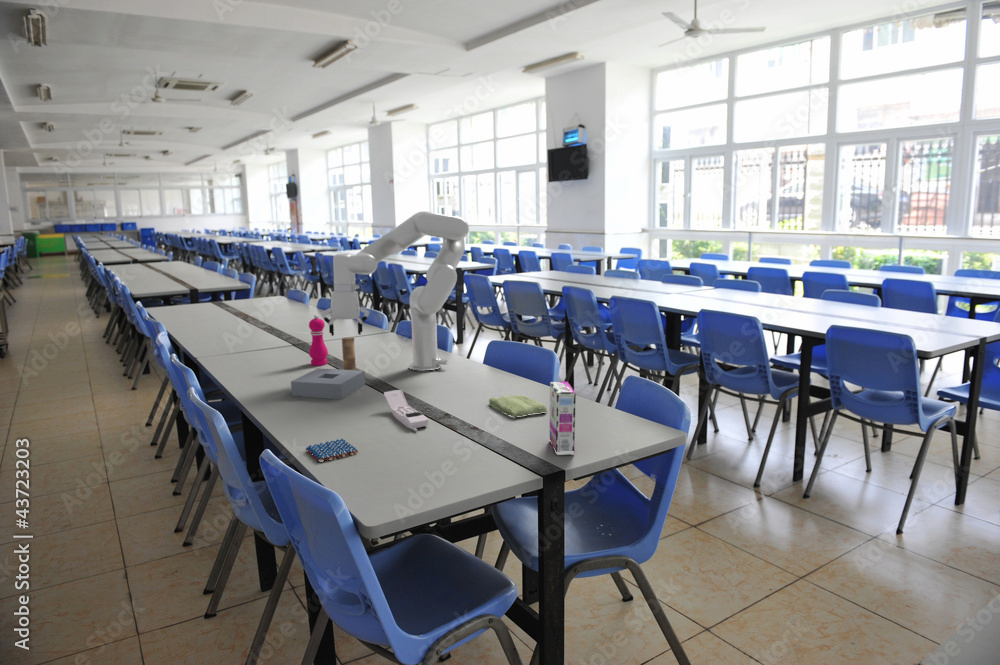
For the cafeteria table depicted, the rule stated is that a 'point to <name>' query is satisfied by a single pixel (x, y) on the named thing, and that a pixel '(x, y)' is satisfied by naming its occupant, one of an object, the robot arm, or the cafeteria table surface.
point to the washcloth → (517, 405)
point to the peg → (348, 353)
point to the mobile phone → (405, 411)
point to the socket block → (328, 383)
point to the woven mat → (331, 450)
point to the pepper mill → (317, 342)
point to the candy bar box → (562, 416)
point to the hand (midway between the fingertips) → (346, 334)
